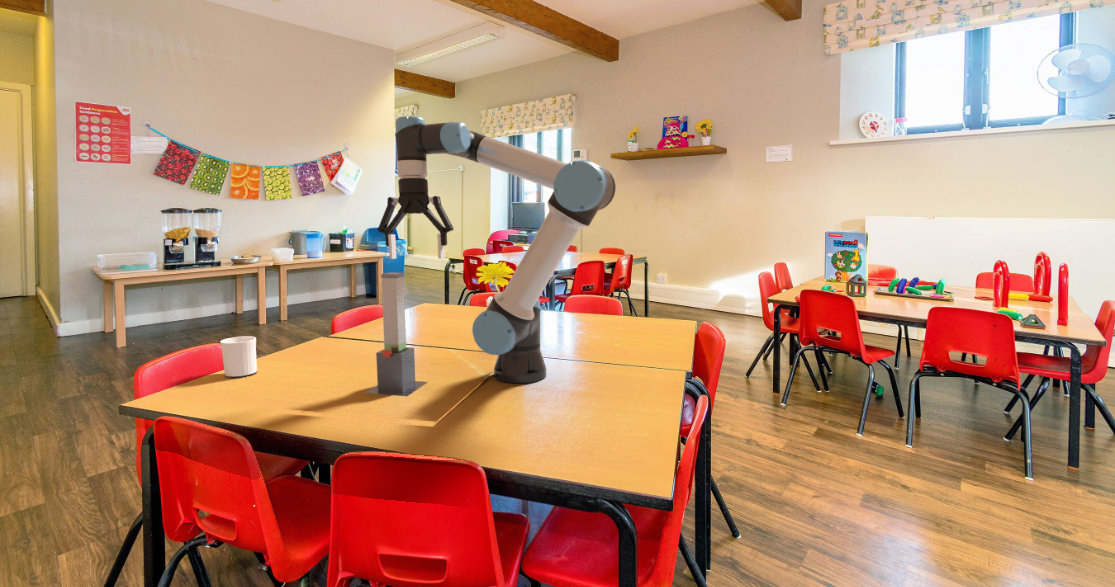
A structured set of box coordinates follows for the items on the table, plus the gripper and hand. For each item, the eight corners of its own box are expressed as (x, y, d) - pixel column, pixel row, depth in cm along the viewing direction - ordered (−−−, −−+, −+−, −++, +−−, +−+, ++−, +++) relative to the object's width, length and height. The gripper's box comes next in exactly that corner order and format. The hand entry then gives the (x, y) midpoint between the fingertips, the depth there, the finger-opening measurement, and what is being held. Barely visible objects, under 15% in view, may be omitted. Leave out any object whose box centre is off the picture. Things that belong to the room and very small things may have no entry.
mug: (264, 373, 159) (262, 338, 157) (233, 380, 151) (230, 344, 150) (244, 367, 164) (242, 334, 163) (213, 374, 157) (210, 339, 156)
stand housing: (428, 385, 147) (426, 342, 146) (407, 400, 136) (405, 353, 134) (387, 382, 150) (386, 340, 148) (364, 396, 138) (361, 350, 137)
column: (406, 359, 143) (403, 272, 140) (399, 363, 139) (395, 274, 136) (392, 358, 144) (389, 272, 141) (385, 362, 140) (381, 274, 137)
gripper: (462, 177, 145) (466, 257, 148) (374, 180, 149) (379, 257, 152) (454, 175, 138) (457, 259, 141) (361, 178, 141) (366, 259, 144)
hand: (417, 258), depth 146 cm, fingers open, 13 cm apart
